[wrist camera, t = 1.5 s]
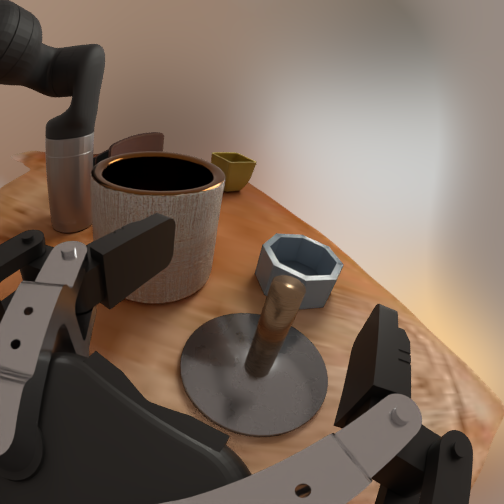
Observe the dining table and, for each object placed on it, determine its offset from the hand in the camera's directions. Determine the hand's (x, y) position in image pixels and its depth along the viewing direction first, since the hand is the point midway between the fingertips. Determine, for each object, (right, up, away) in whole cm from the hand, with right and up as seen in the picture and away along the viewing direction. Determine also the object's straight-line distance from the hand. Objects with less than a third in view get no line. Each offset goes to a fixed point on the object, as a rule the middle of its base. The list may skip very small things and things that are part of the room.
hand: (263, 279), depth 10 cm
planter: (-15, -2, +31) cm, 35 cm away
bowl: (+6, -4, +35) cm, 36 cm away
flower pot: (-7, +18, +65) cm, 68 cm away
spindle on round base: (0, -12, +20) cm, 24 cm away
